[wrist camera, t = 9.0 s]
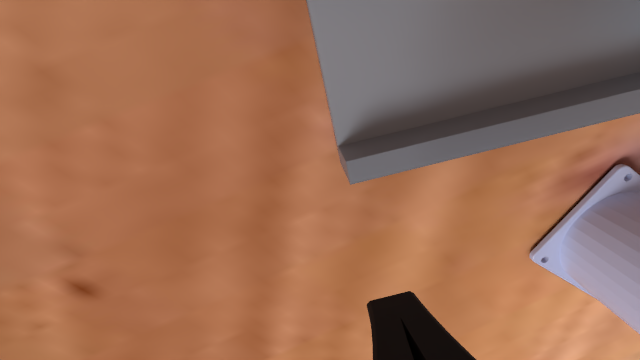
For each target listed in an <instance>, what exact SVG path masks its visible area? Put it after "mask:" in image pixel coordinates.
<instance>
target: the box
mask: <svg viewBox="0 0 640 360" xmlns="http://www.w3.org/2000/svg"><path fill="white" fill-rule="evenodd" d="M306 2H307V6H308V11H309V16H310V20H311V25H312V30H313V35H314V39H315V44H316V49H317V54H318V58H319V63H320V68H321V72H322V77H323V82H324V87H325V91H326V96H327V101H328V106H329V110H330V115H331V120H332V124H333V129H334V134H335V139H336V143H337V148H338V153H339V157H340V162H341V165H342V167H343V169H344V171H345V174H346V176H347V178H348V180H349V182H350V185H351V184H355V183H359V182H363V181H367V180H371V179H375V178H379V177H383V176H387V175H391V174H395V173H399V172H403V171H407V170H411V169H415V168H419V167H424V166H428V165H432V164H436V163H440V162H444V161H448V160H452V159H456V158H460V157H464V156H468V155H472V154H476V153H480V152H484V151H488V150H492V149H496V148H500V147H504V146H509V145H513V144H517V143H521V142H525V141H529V140H533V139H537V138H541V137H545V136H549V135H553V134H557V133H561V132H565V131H569V130H573V129H577V128H581V127H585V126H589V125H593V124H598V123H602V122H606V121H610V120H614V119H618V118H622V117H626V116H630V115H634V114H638V113H640V0H306Z"/></svg>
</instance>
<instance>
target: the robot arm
mask: <svg viewBox="0 0 640 360" xmlns="http://www.w3.org/2000/svg"><path fill="white" fill-rule="evenodd" d="M529 256H530V258H531V259H532V260H533V261H534V262H535V263H537V264H539V265H540V266H542V267H544V268H545V269H547V270H549V271H550V272H552V273H554V274H555V275H557V276H559V277H561V278H562V279H564V280H566V281H567V282H569V283H571V284H572V285H574V286H576V287H577V288H579V289H581V290H583V291H584V292H586V293H588V294H589V295H591V296H593V297H594V298H596V299H598V300H599V301H600V302H601V303H603V304H604V305H605V306H606V307H607V308H609V309H610V310H611V311H612V312H613V313H615V314H616V315H617V316H618V317H619V318H621V319H622V320H623V321H624V322H625V323H627V324H628V325H629V326H630V327H632V328H633V329H634V330H635V331H636V332H638V333H639V334H640V175H639V174H638V173H637V172H635V171H634V170H633V169H632V168H631V167H629V166H627V165H624V164H619V165H617V166H615V167H614V168H613V169H612V170H611V171H610V172H609V173H608V174H607V175H606V176H605V177H604V178H603V179H602V180H601V181H600V182H599V183H598V184H597V185H596V186H595V187H594V188H593V189H592V190H591V191H590V192H589V193H588V194H587V195H586V196H585V197H584V198H583V199H582V200H581V201H580V202H579V203H578V204H577V205H576V206H575V207H574V208H573V209H572V210H571V211H570V212H569V213H568V215H567V216H566V217H565V218H564V219H563V220H562V221H561V222H560V223H559V224H558V225H557V226H556V227H555V228H554V229H553V230H552V231H551V232H550V233H549V234H548V235H547V236H546V237H545V238H544V239H543V240H542V241H541V242H540V243H539V244H538V245H537V246H536V247H535V248H534V249H533V250H532V251H531V253H530V255H529ZM367 308H368V313H369V317H370V322H371V329H372V342H373V360H476V359H475V358H474V357H473V356H472V355H471V354H470V353H469V352H468V351H467V350H466V349H465V348H464V347H463V346H461V345H460V344H459V343H458V342H457V341H456V340H455V339H454V338H453V337H452V336H451V335H450V334H449V333H448V332H447V331H446V330H445V328H444V327H443V326H442V325H441V324H440V323H439V322H438V321H437V320H436V319H435V318H434V317H433V316H432V314H431V313H430V312H429V311H428V310H427V309H426V308H425V306H424V305H423V304H422V303H421V302H420V301H419V299H418V298H417V297H416V296H415V294H414V293H412V292H410V291H408V292H404V293H400V294H396V295H392V296H388V297H384V298H380V299H376V300H372V301H370V302H369V303H368V304H367Z"/></svg>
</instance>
